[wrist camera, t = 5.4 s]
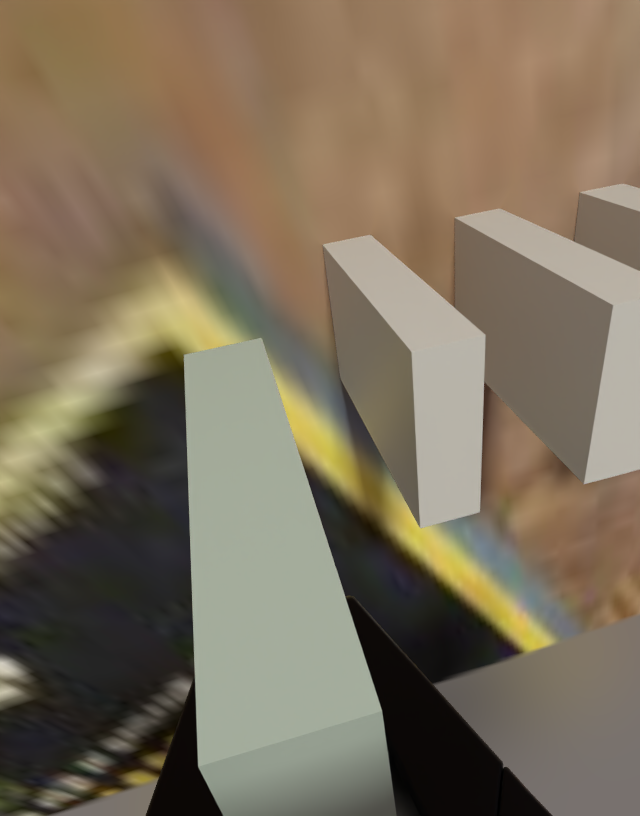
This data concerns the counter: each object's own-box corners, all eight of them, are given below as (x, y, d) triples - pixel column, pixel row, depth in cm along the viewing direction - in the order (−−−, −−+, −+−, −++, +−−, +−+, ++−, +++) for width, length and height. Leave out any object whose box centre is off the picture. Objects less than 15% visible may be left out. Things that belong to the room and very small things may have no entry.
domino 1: (299, 515, 14) (410, 912, 8) (236, 531, 14) (294, 952, 7) (261, 338, 12) (381, 710, 5) (184, 355, 11) (198, 766, 5)
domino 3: (494, 342, 21) (639, 469, 15) (454, 351, 21) (584, 484, 15) (500, 208, 19) (681, 289, 12) (454, 218, 18) (613, 305, 12)
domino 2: (381, 368, 21) (479, 512, 14) (340, 378, 21) (419, 528, 14) (370, 234, 18) (485, 334, 12) (322, 244, 18) (411, 351, 11)
